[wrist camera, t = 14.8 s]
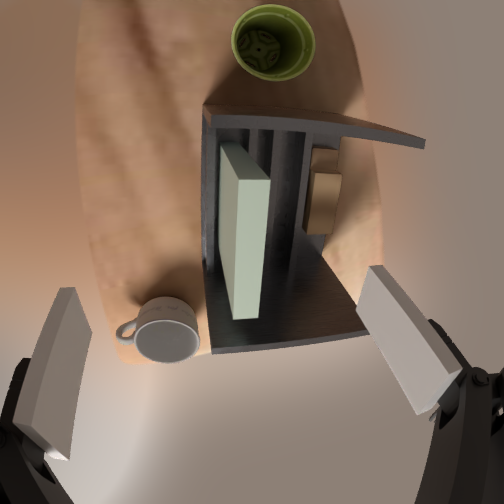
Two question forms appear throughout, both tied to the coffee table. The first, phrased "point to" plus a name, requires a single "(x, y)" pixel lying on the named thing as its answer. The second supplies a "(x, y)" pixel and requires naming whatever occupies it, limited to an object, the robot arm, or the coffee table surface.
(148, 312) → the teacup
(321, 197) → the offcut upper
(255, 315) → the sage panel
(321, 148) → the offcut lower
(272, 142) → the rack
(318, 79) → the coffee table surface
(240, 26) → the plant pot
